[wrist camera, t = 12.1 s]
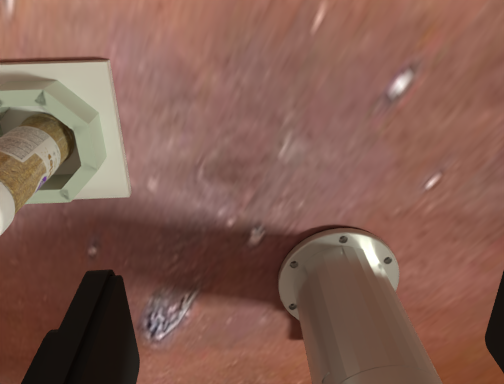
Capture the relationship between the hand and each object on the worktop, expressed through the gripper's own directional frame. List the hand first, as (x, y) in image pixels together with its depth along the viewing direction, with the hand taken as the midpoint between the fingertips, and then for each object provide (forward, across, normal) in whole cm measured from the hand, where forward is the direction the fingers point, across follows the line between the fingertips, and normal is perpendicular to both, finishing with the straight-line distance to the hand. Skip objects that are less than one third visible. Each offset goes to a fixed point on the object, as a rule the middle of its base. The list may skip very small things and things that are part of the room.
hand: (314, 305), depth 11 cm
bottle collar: (+28, +18, +5) cm, 34 cm away
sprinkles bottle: (+27, +18, +5) cm, 33 cm away
